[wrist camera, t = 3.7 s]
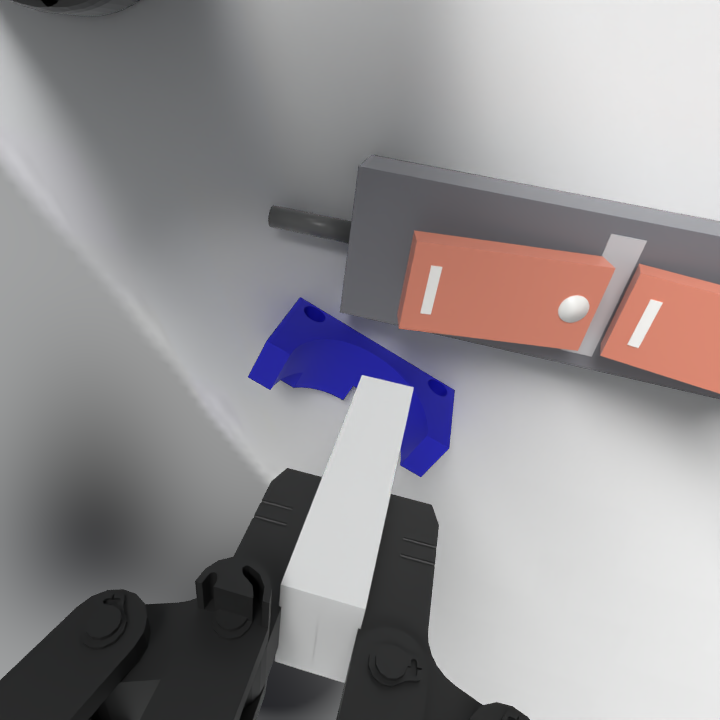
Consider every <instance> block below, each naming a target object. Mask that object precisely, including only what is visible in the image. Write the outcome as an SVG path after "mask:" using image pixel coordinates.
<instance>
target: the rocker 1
mask: <svg viewBox="0 0 720 720" xmlns="http://www.w3.org/2000/svg"><path fill="white" fill-rule="evenodd" d="M615 269H616V268H615V267H614V266H613V265H612V264H611V263H609V262H608V261H607V260H606V259H605V258H604V257H603V256H596V255H589V254H581V253H574V252H567V251H560V250H553V249H545V248H538V247H531V246H524V245H516V244H509V243H502V242H495V241H487V240H480V239H473V238H466V237H458V236H451V235H444V234H437V233H429V232H422V231H415V230H414V234H413V239H412V244H411V249H410V254H409V259H408V264H407V269H406V273H405V278H404V283H403V288H402V293H401V298H400V303H399V308H398V313H397V318H398V327H399V329H406V330H414V331H422V332H430V333H438V334H446V335H454V336H462V337H470V338H479V339H487V340H495V341H503V342H511V343H519V344H527V345H535V346H543V347H551V348H559V349H567V350H575V351H578V350H579V347H580V345H581V343H582V341H583V339H584V337H585V334H586V332H587V330H588V328H589V326H590V323H591V321H592V319H593V317H594V315H595V313H596V310H597V308H598V306H599V304H600V302H601V299H602V297H603V295H604V293H605V291H606V288H607V286H608V284H609V282H610V280H611V278H612V275H613V273H614V271H615Z"/></svg>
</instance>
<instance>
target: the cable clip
mask: <svg viewBox="0 0 720 720" xmlns="http://www.w3.org/2000/svg"><path fill="white" fill-rule="evenodd" d="M362 375H364V376H368V377H373V378H377V379H381V380H385V381H389V382H394V383H398V384H402V385H406V386H410V387H414V389H413V394H412V398H411V403H410V407H409V412H408V417H407V421H406V426H405V430H404V435H403V440H402V444H401V449H400V450H401V462H400V465H401V466H402V467H404V468H406V469H408V470H409V471H411V472H413V473H415V474H416V475H418V476H420V477H422V476H423V474H424V473H425V472H426V471H427V470H428V469H429V468H430V467H431V466H432V465H433V464H434V463H435V462H436V461H437V460H438V459H439V458H440V457H441V456H442V455H443V454H444V453H445V452H446V451H447V450H448V449H449V445H450V435H451V424H452V414H453V403H454V393H455V390H453V389H452V388H450V387H448V386H447V385H445V384H443V383H442V382H440V381H438V380H437V379H435V378H433V377H432V376H430V375H428V374H427V373H425V372H423V371H422V370H420V369H419V368H417V367H415V366H414V365H412V364H410V363H409V362H407V361H405V360H404V359H402V358H400V357H399V356H397V355H395V354H394V353H392V352H390V351H389V350H387V349H385V348H384V347H382V346H380V345H379V344H377V343H375V342H374V341H372V340H370V339H369V338H367V337H366V336H364V335H362V334H361V333H359V332H357V331H356V330H354V329H352V328H351V327H349V326H347V325H346V324H344V323H342V322H341V321H339V320H337V319H336V318H334V317H332V316H331V315H329V314H327V313H326V312H324V311H322V310H321V309H319V308H317V307H316V306H314V305H313V304H311V303H309V302H308V301H306V300H304V299H303V298H301V297H300V298H299V300H298V301H297V302H296V303H295V305H294V306H293V307H292V309H291V310H290V311H289V313H288V314H287V315H286V316H285V318H284V319H283V320H282V322H281V323H280V324H279V325H278V327H277V328H276V329H275V331H274V332H273V333H272V335H271V336H270V337H269V338H268V340H267V341H266V343H265V345H264V347H263V349H262V351H261V353H260V355H259V357H258V359H257V361H256V362H255V364H254V366H253V368H252V370H251V372H250V374H249V376H248V377H249V378H250V379H252V380H254V381H255V382H257V383H259V384H261V385H262V386H264V387H266V388H268V389H269V390H271V388H272V387H273V386H274V385H275V384H276V383H277V382H278V381H280V380H281V381H283V382H285V383H286V384H288V385H290V386H292V387H293V388H300V387H302V388H312V389H317V390H321V391H324V392H327V393H330V394H332V395H334V396H336V397H338V398H340V399H342V400H344V398H345V397H346V395H347V394H348V392H349V391H350V390H351V388H352V387H353V386H355V387H356V388H357V386H358V384H359V381H360V379H361V376H362Z"/></svg>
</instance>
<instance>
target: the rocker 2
mask: <svg viewBox="0 0 720 720" xmlns="http://www.w3.org/2000/svg"><path fill="white" fill-rule="evenodd" d="M600 356H603V357H606V358H609V359H612V360H615V361H619V362H622V363H625V364H628V365H631V366H634V367H637V368H641V369H644V370H647V371H650V372H653V373H656V374H659V375H663V376H666V377H669V378H672V379H675V380H678V381H681V382H685V383H688V384H691V385H694V386H697V387H700V388H703V389H707V390H710V391H713V392H716V393H719V394H720V285H719V284H715V283H711V282H707V281H704V280H700V279H696V278H692V277H688V276H685V275H681V274H677V273H673V272H669V271H666V270H662V269H658V268H654V267H650V266H646V265H643V264H639V265H638V267H637V270H636V272H635V274H634V276H633V278H632V280H631V282H630V284H629V286H628V288H627V290H626V292H625V294H624V296H623V298H622V301H621V303H620V305H619V307H618V309H617V311H616V313H615V315H614V317H613V319H612V321H611V323H610V325H609V327H608V329H607V332H606V334H605V336H604V338H603V340H602V342H601V349H600Z"/></svg>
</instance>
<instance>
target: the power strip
mask: <svg viewBox="0 0 720 720" xmlns="http://www.w3.org/2000/svg"><path fill="white" fill-rule="evenodd" d="M268 222H269V226H270V227H274V228H279V229H283V230H288V231H293V232H297V233H302V234H307V235H312V236H316V237H321V238H326V239H330V240H335V241H340V242H344V243H349V245H348V253H347V261H346V269H345V277H344V284H343V292H342V300H341V308H340V312H341V313H346V314H350V315H355V316H359V317H363V318H368V319H372V320H376V321H381V322H385V323H390V324H394V325H398V318H397V313H398V308H399V303H400V298H401V293H402V288H403V283H404V278H405V273H406V269H407V264H408V259H409V254H410V249H411V244H412V239H413V234H414V230H415V231H422V232H429V233H437V234H444V235H451V236H458V237H466V238H473V239H480V240H487V241H495V242H502V243H509V244H516V245H524V246H531V247H538V248H545V249H553V250H560V251H567V252H574V253H581V254H589V255H596V256H603V257H604V258H605V259H606V260H607V261H608V262H609V263H611V264H612V265H613V266H614V267H615V268H616V269H615V271H614V273H613V275H612V278H611V280H610V282H609V284H608V286H607V288H606V291H605V293H604V295H603V297H602V299H601V302H600V304H599V306H598V308H597V310H596V313H595V315H594V317H593V319H592V321H591V323H590V326H589V328H588V330H587V332H586V334H585V337H584V339H583V341H582V343H581V345H580V347H579V350H578V351H575V350H567V349H559V348H551V347H543V346H535V345H527V344H519V343H511V342H503V341H495V340H487V339H479V338H470V337H462V336H454V335H446V334H438V333H433V334H438V335H442V336H446V337H451V338H455V339H460V340H464V341H468V342H473V343H477V344H481V345H486V346H490V347H495V348H499V349H503V350H508V351H512V352H516V353H521V354H525V355H530V356H534V357H538V358H543V359H547V360H551V361H556V362H560V363H565V364H569V365H573V366H578V367H582V368H586V369H591V370H595V371H600V372H604V373H608V374H613V375H617V376H621V377H626V378H630V379H635V380H639V381H643V382H648V383H652V384H656V385H661V386H665V387H670V388H674V389H678V390H683V391H687V392H691V393H696V394H700V395H705V396H709V397H713V398H718V399H720V394H719V393H716V392H713V391H710V390H707V389H703V388H700V387H697V386H694V385H691V384H688V383H685V382H681V381H678V380H675V379H672V378H669V377H666V376H663V375H659V374H656V373H653V372H650V371H647V370H644V369H641V368H637V367H634V366H631V365H628V364H625V363H622V362H619V361H615V360H612V359H609V358H606V357H603V356H600V349H601V342H602V340H603V338H604V336H605V334H606V332H607V329H608V327H609V325H610V323H611V321H612V319H613V317H614V315H615V313H616V311H617V309H618V307H619V305H620V303H621V301H622V298H623V296H624V294H625V292H626V290H627V288H628V286H629V284H630V282H631V280H632V278H633V276H634V274H635V272H636V270H637V267H638V265H639V264H643V265H646V266H650V267H654V268H658V269H662V270H666V271H669V272H673V273H677V274H681V275H685V276H688V277H692V278H696V279H700V280H704V281H707V282H711V283H715V284H719V285H720V221H715V220H710V219H704V218H699V217H694V216H689V215H683V214H678V213H673V212H668V211H662V210H657V209H652V208H647V207H642V206H636V205H631V204H626V203H621V202H615V201H610V200H605V199H600V198H594V197H589V196H584V195H579V194H574V193H568V192H563V191H558V190H553V189H547V188H542V187H537V186H532V185H526V184H521V183H516V182H511V181H506V180H500V179H495V178H490V177H485V176H479V175H474V174H469V173H464V172H458V171H453V170H448V169H443V168H438V167H432V166H427V165H422V164H417V163H411V162H406V161H401V160H396V159H390V158H385V157H380V156H375V155H371V156H370V157H369V158H368V159H366V160H365V161H364V162H363V163H362V164H361V165H359V167H358V175H357V183H356V191H355V199H354V206H353V214H352V221H347V220H342V219H337V218H332V217H328V216H323V215H318V214H313V213H308V212H303V211H299V210H294V209H289V208H284V207H279V206H274V205H273V206H272V207H271V209H270V212H269V218H268ZM429 333H430V332H429Z"/></svg>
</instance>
